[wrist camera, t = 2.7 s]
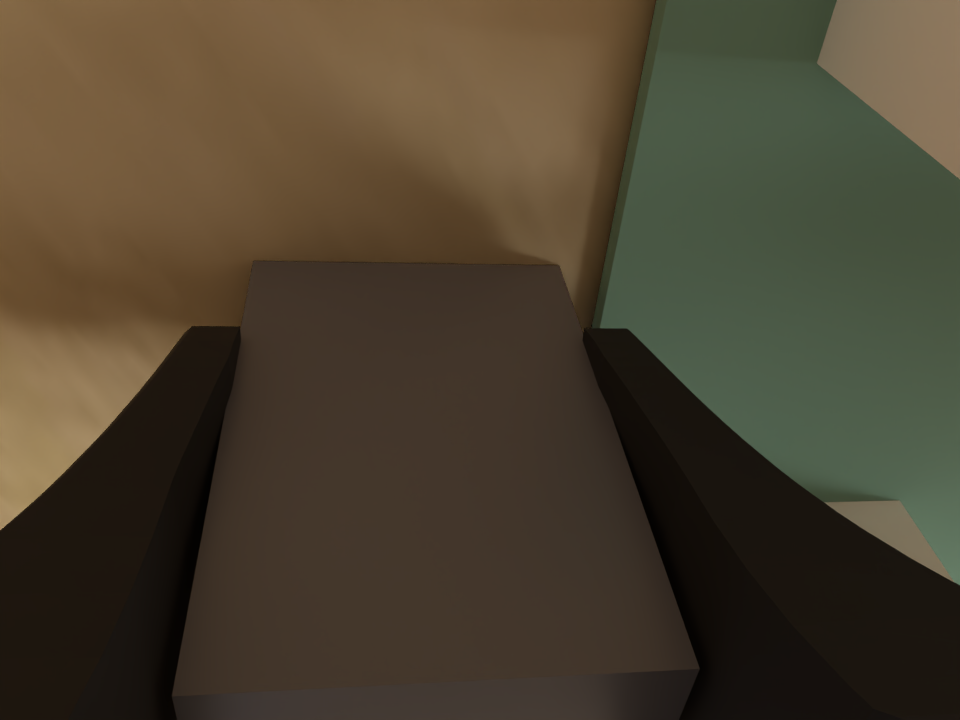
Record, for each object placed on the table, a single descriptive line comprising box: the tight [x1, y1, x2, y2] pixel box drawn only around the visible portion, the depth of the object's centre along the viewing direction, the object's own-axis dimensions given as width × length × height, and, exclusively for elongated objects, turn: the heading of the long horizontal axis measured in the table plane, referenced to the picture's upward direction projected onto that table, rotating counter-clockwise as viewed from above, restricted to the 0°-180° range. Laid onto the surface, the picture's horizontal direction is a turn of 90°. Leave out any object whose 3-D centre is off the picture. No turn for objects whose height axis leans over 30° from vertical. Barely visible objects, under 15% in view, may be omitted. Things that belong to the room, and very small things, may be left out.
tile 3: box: [824, 500, 954, 582], centre depth 14 cm, size 2×5×7 cm, turn 84°
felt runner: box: [592, 0, 960, 585], centre depth 18 cm, size 11×27×1 cm, turn 175°
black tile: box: [172, 261, 700, 720], centre depth 11 cm, size 2×5×7 cm, turn 85°
